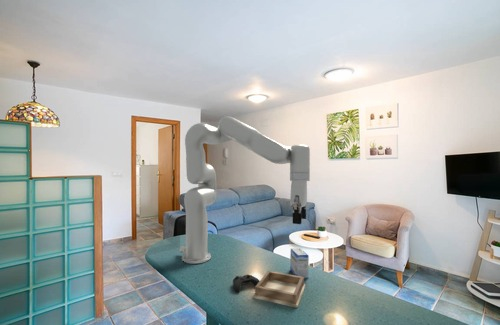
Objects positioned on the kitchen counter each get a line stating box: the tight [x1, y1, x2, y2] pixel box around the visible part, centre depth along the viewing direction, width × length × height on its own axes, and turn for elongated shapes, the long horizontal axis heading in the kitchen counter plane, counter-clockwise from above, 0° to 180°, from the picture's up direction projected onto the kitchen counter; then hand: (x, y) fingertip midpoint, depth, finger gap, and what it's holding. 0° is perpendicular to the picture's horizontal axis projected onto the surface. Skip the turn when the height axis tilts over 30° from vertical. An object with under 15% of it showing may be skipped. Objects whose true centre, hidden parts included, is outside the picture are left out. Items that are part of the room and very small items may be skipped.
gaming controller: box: [232, 274, 260, 294], centre depth 84 cm, size 10×5×6 cm
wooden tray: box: [252, 270, 306, 309], centre depth 80 cm, size 14×14×3 cm
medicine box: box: [289, 247, 310, 279], centre depth 94 cm, size 8×4×9 cm, turn 11°
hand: (299, 221), depth 94 cm, fingers open, 9 cm apart
